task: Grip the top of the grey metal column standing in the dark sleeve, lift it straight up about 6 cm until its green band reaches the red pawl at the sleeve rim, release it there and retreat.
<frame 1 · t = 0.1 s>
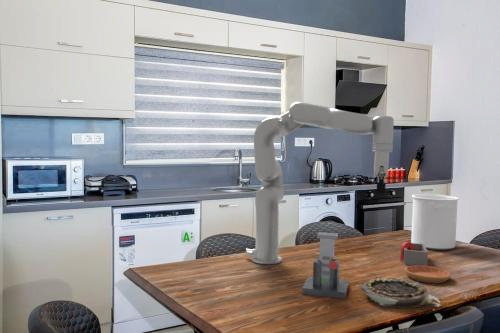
hand: (380, 192, 181), 31 cm above the table, fingers open, 9 cm apart
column: (326, 259, 157), point 11 cm above the table, slide at 0.0 cm
stand: (325, 289, 158), on the table
bucket: (432, 246, 229), on the table
saucer: (427, 279, 175), on the table
bracket: (414, 260, 200), resting in bracket rest
bracket rest: (414, 260, 200), on the table
pie: (393, 300, 151), on the table
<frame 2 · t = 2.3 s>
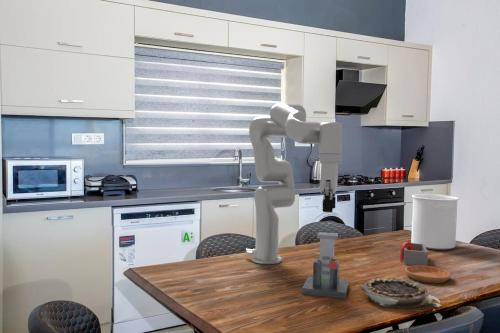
hand: (329, 210, 156), 27 cm above the table, fingers open, 9 cm apart
bracket: (413, 261, 200), resting in bracket rest
everything else where it was.
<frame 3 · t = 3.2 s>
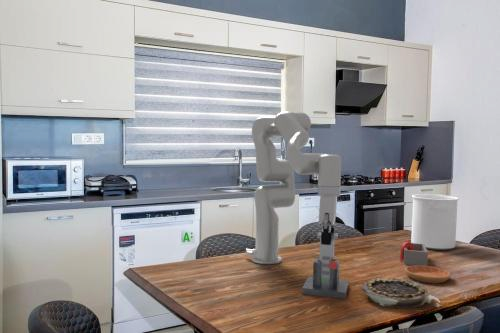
hand: (327, 241, 157), 17 cm above the table, fingers open, 9 cm apart
nothing on the table moved.
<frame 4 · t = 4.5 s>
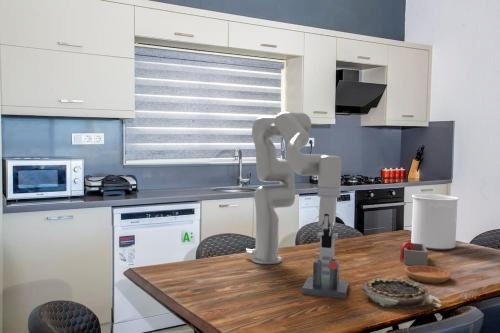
hand: (327, 245, 157), 15 cm above the table, fingers closed on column, 4 cm apart
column: (326, 259, 157), point 11 cm above the table, slide at 0.0 cm, touching gripper, stand
everything else where it was.
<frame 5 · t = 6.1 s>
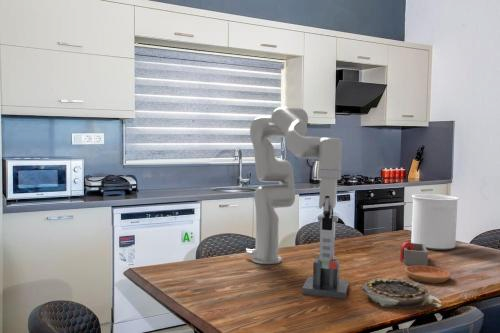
hand: (327, 227, 157), 21 cm above the table, fingers closed on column, 4 cm apart
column: (327, 241, 157), point 17 cm above the table, slide at 5.9 cm, touching gripper
everything else where it was.
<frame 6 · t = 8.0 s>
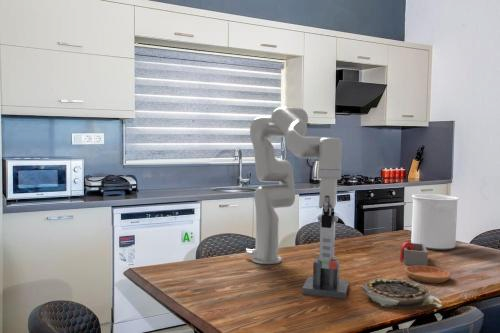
hand: (327, 224, 157), 22 cm above the table, fingers open, 9 cm apart
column: (327, 241, 157), point 17 cm above the table, slide at 6.0 cm
everything else where it was.
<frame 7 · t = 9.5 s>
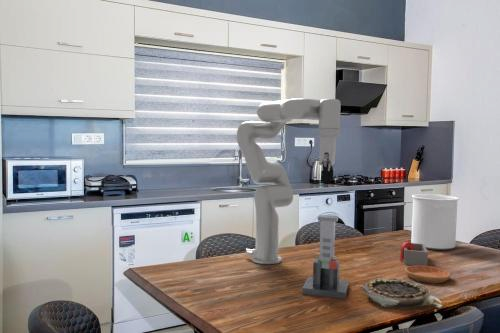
hand: (327, 181, 168), 36 cm above the table, fingers open, 9 cm apart
nothing on the table moved.
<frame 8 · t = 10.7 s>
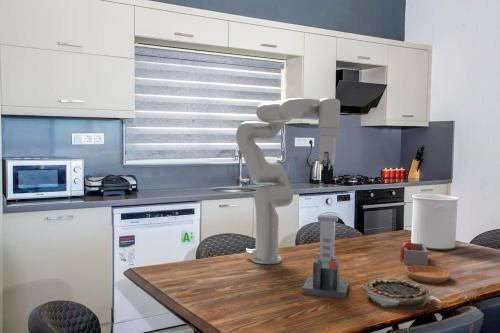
hand: (327, 180, 168), 36 cm above the table, fingers open, 9 cm apart
nothing on the table moved.
at the end: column slide at 6.0 cm; the gripper is holding nothing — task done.
